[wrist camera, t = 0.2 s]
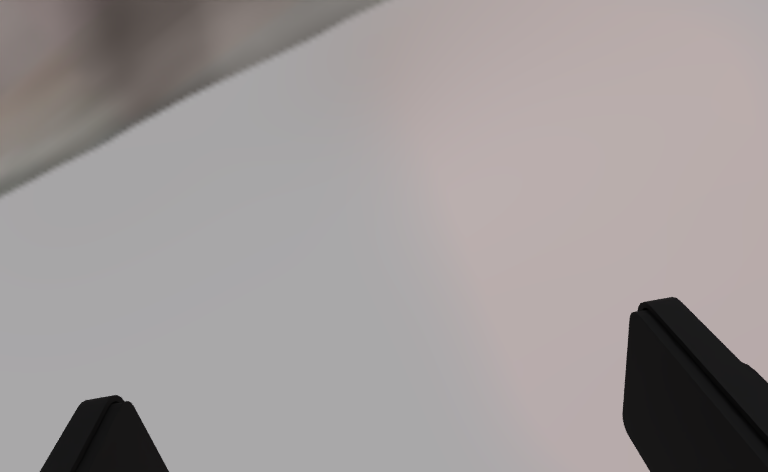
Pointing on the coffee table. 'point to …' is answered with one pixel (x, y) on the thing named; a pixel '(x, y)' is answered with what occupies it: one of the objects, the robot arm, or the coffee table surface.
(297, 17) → the coffee table surface
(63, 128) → the coffee table surface
